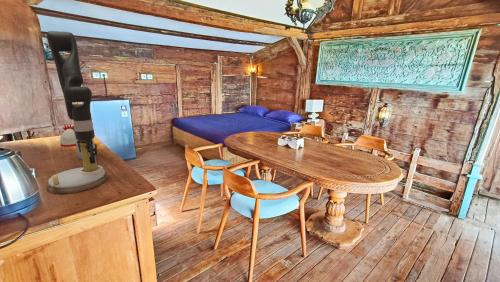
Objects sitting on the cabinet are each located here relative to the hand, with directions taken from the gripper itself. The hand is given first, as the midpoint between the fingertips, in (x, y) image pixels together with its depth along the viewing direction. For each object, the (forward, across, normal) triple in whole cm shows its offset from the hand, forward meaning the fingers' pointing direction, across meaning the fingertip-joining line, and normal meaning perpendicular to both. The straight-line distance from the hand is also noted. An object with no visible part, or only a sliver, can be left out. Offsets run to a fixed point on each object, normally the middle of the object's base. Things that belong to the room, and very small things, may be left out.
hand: (89, 161), depth 116 cm
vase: (+4, 0, 0) cm, 4 cm away
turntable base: (+9, 0, -6) cm, 11 cm away
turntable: (+6, 0, -6) cm, 9 cm away
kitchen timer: (+9, -74, +23) cm, 78 cm away
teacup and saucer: (+10, -93, +28) cm, 97 cm away
